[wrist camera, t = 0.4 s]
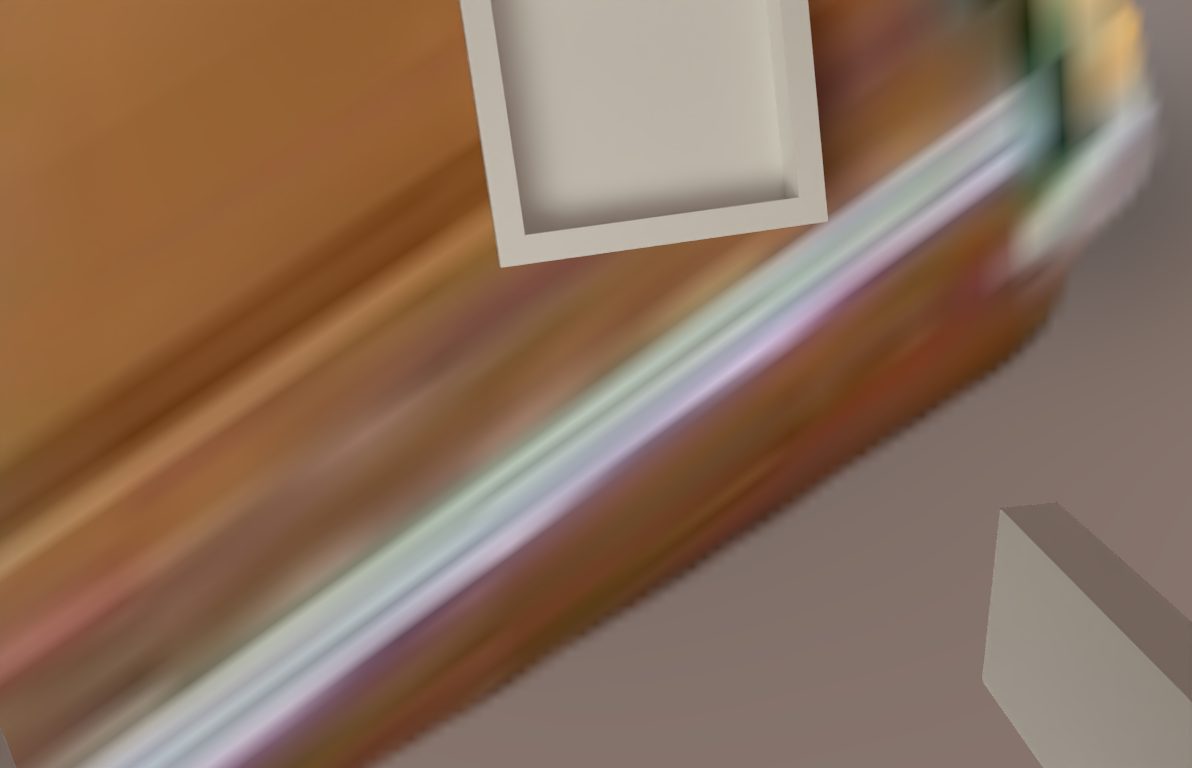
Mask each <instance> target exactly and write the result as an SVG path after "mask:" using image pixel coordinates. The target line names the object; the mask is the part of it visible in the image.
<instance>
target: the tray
mask: <svg viewBox="0 0 1192 768" xmlns="http://www.w3.org/2000/svg"><path fill="white" fill-rule="evenodd" d="M459 5H460V11H461V18H462V25H463V31H464V38H465V44H466V51H467V57H468V64H469V70H470V77H471V84H472V90H473V97H474V103H475V110H476V116H477V123H478V130H479V136H480V143H481V149H482V156H483V162H484V169H485V175H486V182H487V189H488V195H489V202H490V208H491V215H492V221H493V228H494V235H495V241H496V248H497V254H498V261H499V266H500V267H501V268H502V267H509V266H516V265H523V264H530V263H537V262H544V261H551V260H558V259H565V258H573V257H580V256H587V255H594V254H601V253H608V252H615V251H622V250H629V249H636V248H643V247H650V246H658V245H665V244H672V243H679V242H686V241H693V240H700V239H707V238H714V237H721V236H728V235H735V234H743V233H750V232H757V231H764V230H771V229H778V228H785V227H792V226H799V225H806V224H813V223H820V222H828V215H827V204H826V193H825V182H824V171H823V160H822V149H821V138H820V127H819V116H818V105H817V94H816V83H815V72H814V61H813V49H812V38H811V27H810V16H809V5H808V0H459Z"/></svg>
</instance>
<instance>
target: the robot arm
mask: <svg viewBox="0 0 1192 768" xmlns="http://www.w3.org/2000/svg"><path fill="white" fill-rule="evenodd" d="M996 544H997V545H996V553H995V563H994V572H993V581H992V591H991V600H990V610H989V620H988V629H987V639H986V649H985V659H984V667H983V677H982V681H983V683H984V684H985V685H986V687H987V688H988V690H989V691H990V692H991V694H992V695H993V697H994V698H995V700H996V701H997V702H998V704H999V705H1000V707H1001V708H1002V710H1003V711H1004V712H1005V714H1006V715H1007V717H1008V718H1009V719H1010V721H1011V722H1012V724H1013V725H1014V727H1015V728H1016V730H1017V731H1018V732H1019V734H1020V735H1021V736H1022V738H1023V739H1024V741H1025V742H1026V744H1027V745H1028V746H1029V748H1030V749H1031V751H1032V752H1033V754H1034V755H1035V757H1036V758H1037V759H1038V761H1039V762H1040V764H1041V765H1042V767H1043V768H1192V622H1191V621H1190V620H1189V619H1188V618H1187V617H1186V616H1185V615H1183V614H1182V613H1181V612H1180V611H1179V610H1178V609H1177V608H1176V607H1174V606H1173V605H1172V604H1171V603H1170V602H1169V601H1168V600H1167V599H1165V598H1164V597H1163V596H1162V595H1161V594H1160V593H1159V592H1158V591H1156V590H1155V589H1154V588H1153V587H1152V586H1151V585H1150V584H1149V583H1148V582H1146V581H1145V580H1144V579H1143V578H1142V577H1141V576H1140V575H1139V574H1137V573H1136V572H1135V571H1134V570H1133V569H1132V568H1131V567H1129V566H1128V565H1127V564H1126V563H1125V562H1124V561H1123V560H1122V559H1121V558H1120V557H1118V556H1117V555H1116V554H1115V553H1114V552H1113V551H1112V550H1111V549H1109V548H1108V547H1107V546H1106V545H1105V544H1104V543H1103V542H1102V541H1100V540H1099V539H1098V538H1097V537H1096V536H1095V535H1094V534H1093V533H1091V532H1090V531H1089V530H1088V529H1087V528H1086V527H1085V526H1084V525H1083V524H1081V523H1080V522H1079V521H1078V520H1077V519H1076V518H1074V516H1072V515H1071V514H1070V513H1069V512H1068V511H1067V510H1065V508H1064V507H1062V506H1061V505H1060V504H1059V503H1058V502H1056V503H1046V504H1037V505H1027V506H1017V507H1007V508H1000V515H999V524H998V534H997V543H996ZM0 768H16V766H15V763H14V761H13V758H12V755H11V753H10V750H9V748H8V745H7V743H6V740H5V737H4V735H3V732H2V730H1V727H0Z"/></svg>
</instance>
